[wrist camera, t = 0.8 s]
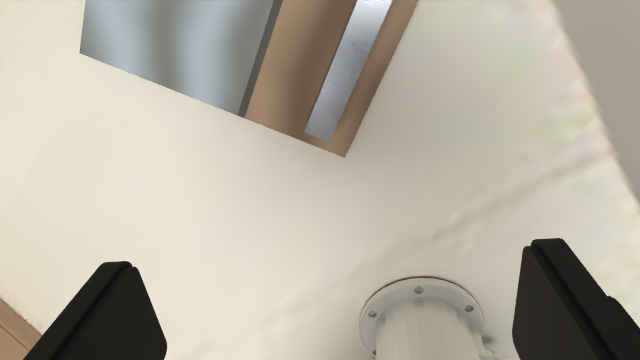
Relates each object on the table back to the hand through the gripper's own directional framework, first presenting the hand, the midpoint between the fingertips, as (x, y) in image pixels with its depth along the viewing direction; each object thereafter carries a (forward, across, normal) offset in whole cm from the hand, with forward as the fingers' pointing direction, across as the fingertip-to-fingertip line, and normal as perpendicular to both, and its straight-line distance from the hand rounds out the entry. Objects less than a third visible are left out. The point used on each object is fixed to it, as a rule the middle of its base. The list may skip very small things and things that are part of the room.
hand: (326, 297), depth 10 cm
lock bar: (+24, -1, -3) cm, 24 cm away
